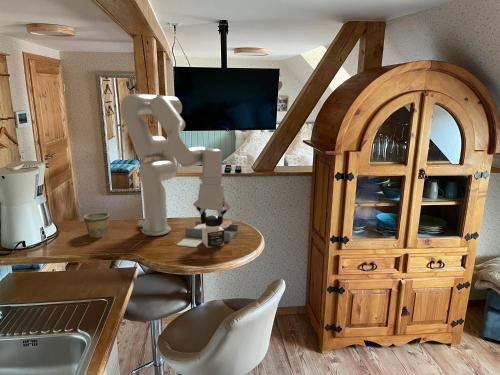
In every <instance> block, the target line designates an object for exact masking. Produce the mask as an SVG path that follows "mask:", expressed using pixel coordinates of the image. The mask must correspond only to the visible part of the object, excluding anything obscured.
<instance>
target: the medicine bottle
mask: <svg viewBox="0 0 500 375" xmlns="http://www.w3.org/2000/svg"><path fill="white" fill-rule="evenodd" d="M218 216H219V215H215V214H214V215H206V218H205V227H202V243H201V244H203V245H204V246H205V247H206V248H207V249H209V248H210V249H211V248H216V247H223V246H225V241H224V229H222V228H221V227H220V226H218Z"/></svg>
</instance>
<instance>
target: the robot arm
mask: <svg viewBox="0 0 500 375" xmlns="http://www.w3.org/2000/svg"><path fill="white" fill-rule="evenodd" d="M119 108H120V115H121V118H122V120H123V122H124V125H125V126H126V128H127V129H126V130H128V134H129V136H130V140H131V143H132V145H133V149H134V150H135V154H136V155H137V157H138V158H140V159H143V160H144V159H145V160H146V159H153V158H155V159H153V160H148V161H146V162H144V163H143V164H141V166H140V168H139V171H138V172H139V178H140V181H141V182H140V183H141V187H142V197H143V211H144V212H143V213H144V215H143V216H144V220H138V222H137V226H138V227H142V228H141V233H143V235H147V236H152V237H153V236H155V237H156V236H162V235H165V234H169V233H170V232H171V230H172V227H171V226H170V225H168V217H167V216H168V212H167V195H166V188H165V187H164V184H163V183H162V182H163V181H168V180H171V179H173V178H175V177H176V175H177V172H178V166H177V164H176V162H177V163H178V164H179V165H180V166H182V167H184V168H193V167H198V166H201V165H202V166H201V167H202V168H201V169H202V172H201V173H202V175H201V176H199V177H198V179H199V181H200V180H201V183H199V188H198V194H197V196H198V197H197V200H196V201H194V202H193V206H194V208H196V210H197V211H198V213H199V215H200V221H202V224H204V223H205V218H206V217H207V212H206V210H212V211H217V214H218V215H217V216H218V226H220V225H221V224H222V223H223V221H224V215H225V214H226V213H227V212H228V211H229V210H230V209H231V208H232V207H231V205H230V204H229V203H228V202H227V200H226V195H225V194H226V192H225V188H224V187H225V186H224V184H223V183H222V178H223V176H222V175H223V174H222V173H223V171H222V170H223V169H222V168H223V165H222V164H223V152H222V150H221V149H219V148H215V147H214V148H212V147H211V148H210V147H207V146H203V145H197V146H188V147H187V145H186V144H185V143H184V141H183V140H182V137H181V133H182V132H183V131H184V129H185V128H186V122H185V120H184V119H183V118H182V116H181V115H180V114H181V113H182V110H183V105H182V102H181V101H180V99H179V98H178V97H177V96H174V95H173V96H172V95H164V94H163V95H162V94H156V93H155V94H153V93H130V94H128V95H126V96H124V97H123V98H122V100H121V103H120V107H119ZM141 115H153V116H154V117H155V119H156V120H157V122H158V123H159V124H160V126H161V127H162V128H163V130H164V131H165V133H166V135H167V137H166V138H167V139H166V138H165V137H164V136H162V135H152V133H151V131H150V127H149V125H148V123H147V122H146V120H145V119H144V118H143V117H142V116H141ZM224 207H225V208H224ZM223 208H224V209H223Z"/></svg>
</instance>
